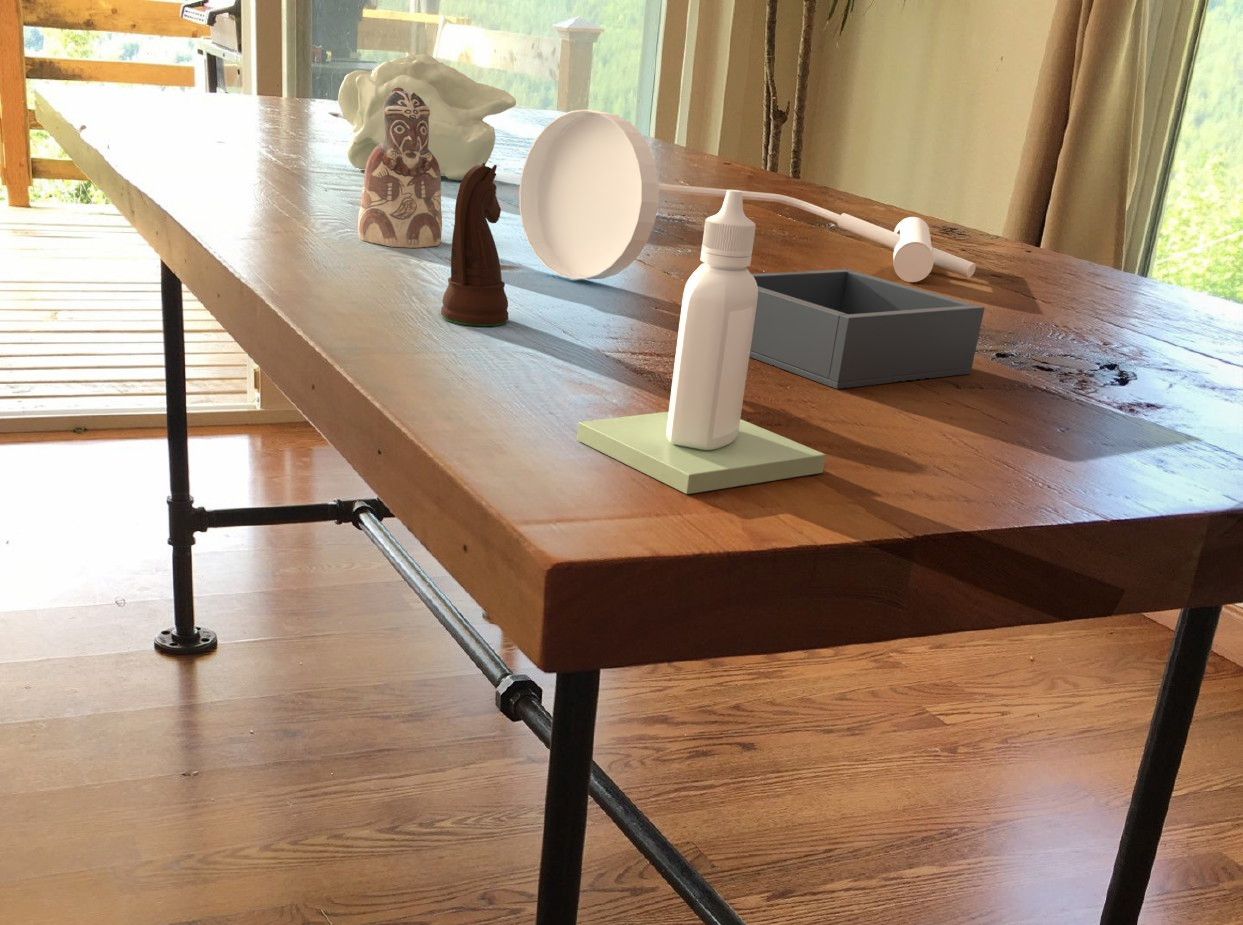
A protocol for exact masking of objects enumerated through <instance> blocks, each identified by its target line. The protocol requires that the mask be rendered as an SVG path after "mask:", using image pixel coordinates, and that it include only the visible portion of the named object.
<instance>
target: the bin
mask: <svg viewBox="0 0 1243 925" xmlns="http://www.w3.org/2000/svg"><path fill="white" fill-rule="evenodd" d="M751 274H752V275H753V277H754V278H755V280H756V283H757V286H758V299H757V307H756V314H755V321H754V328H753V335H752V342H751V349H750V356H749V358H751V359H753V360H756V361H759V362H762V363H765V364H767V365H770V366H773V365H774V366H773V367H776V368H777V369H782V370H784V371H786V372H789V373H791V374H794V375H797V376H800V377H803V378H806V379H808V380H811V381H813V382H816V383H819V384H822V385H825V386H827V387H830V388H832V389H835V390H840V389H849V388H859V387H866V386H876V384H877V385H884V384H885V385H886V384H893V383H892V382H894V383H899V382H898V381H903V382H906V381H905V380H911V381H918V380H917V379H920V380H926V379H925V378H929V379H937V378H947V377H954V376H963V375H971V373H972V368H973V365H974V360H975V355H976V352H977V347H978V341H979V337H980V331H981V327H982V323H983V318H984V314H985V308H986V307H985V306H981V305H978V304H975V303H971V302H967V301H963V300H959V299H956V298H953V297H949V296H945V295H942V294H938V293H934V292H931V291H927V290H923V289H921V288H916V287H913V286H910V285H906V284H903V283H898V282H895V281H891V280H888V279H884V278H881V277H877V276H874V275H870V274H866V273H863V272H859V271H857V270H852V269H848V268H841V269H840V268H839V269H819V270H818V269H817V270H800V271H799V270H798V271H782V272H780V271H779V272H763V273H762V272H761V273H751ZM895 381H896V382H895Z"/></svg>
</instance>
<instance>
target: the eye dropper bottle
mask: <svg viewBox="0 0 1243 925" xmlns="http://www.w3.org/2000/svg"><path fill="white" fill-rule="evenodd" d="M726 190H727V193H726V197H725V198H724V200H723V203H722V207H721V208H720V210H719V211H718V213H716V214H714V215H711V216H708V217H706V219H704V228H703V236H702V243H701V251H700V261H701V262H702V263H701V264H700V265H699V266H698V267H697V269H695V270H694V272H692V274H691V275H690V276H689V278H688V279H687V281H686V283H685V286H684V290H683V294H682V300H681V301H682V302H681V310H680V317H679V324H678V334H677V342H676V349H675V357H674V365H673V366H674V367H673V373H672V381H671V389H670V390H671V391H670V397H669V398H670V399H669V407H668V412H669V414H668V422H667V438H668V440H669V442H671V443H672V444H675V445H679V446H684V447H690V448H695V449H701V450H714V449H718V448H721V447H724V446H726V445H728V444H730V443H731V442H732V441H734V439H735V438H736V436H737V434H738V431H739V425H740V419H741V417H742V412H743V411H742V410H743V404H744V397H745V389H746V382H747V375H748V371H749V370H748V369H749V363H750V357H749V356H750V349H751V342H752V335H753V328H754V321H755V314H756V307H757V299H758V286H757V283H756V280H755V278H754V277H753V275H752V274H753V273H751V272H750V270H749V269H748V268H747V267H750V266H751V263H752V257H753V256H752V255H753V249H754V243H755V242H754V241H755V233H756V227H757V224H756V223H755V222H754V221H753V220H751V219H750V218H748V216H746V214H745V212H744V204H743V203H744V202H743V201H744V199H742V191H743V190H739V189H726Z"/></svg>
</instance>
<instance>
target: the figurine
mask: <svg viewBox="0 0 1243 925" xmlns="http://www.w3.org/2000/svg"><path fill="white" fill-rule="evenodd" d="M429 115H430V109H429V108H428V107H427V106H426V104H425V103H424V101H423V100H422V99H421V98H420V97H419V96H418V95H416V94H415V93H414V92H410V91H404V90H403V89H402V88H400V87H395V88H394V89H392V93H391V94H390V95H389V96H388V98H387V99H386V101H385V103H384V106H383V122H384V142H383V143H381V144H379V145H378V146H376V147H375V149H374V150H373V151H372V153H371V154H370V156H369V158H368V160H367V163H366V167H365V171H363V172H364V173H363V174H364V176H363V185H362V193H361V201H360V205H359V211H358V217H357V225H358V226H357V232H358V238H359V240H361V241H363V242H368V243H371V244H376V245H381V246H387V247H392V248H411V249H416V248H417V249H418V248H429V247H437V246H440V245H441V242H442V233H443V232H442V231H443V214H442V189H441V188H442V186H441V185H442V179H441V178H442V177H441V176H442V175H440V168H439V164H438V162H437V160H436V158H435V157H434V156H433V154H432V153H431V152H430V150H428V141H429Z"/></svg>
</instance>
